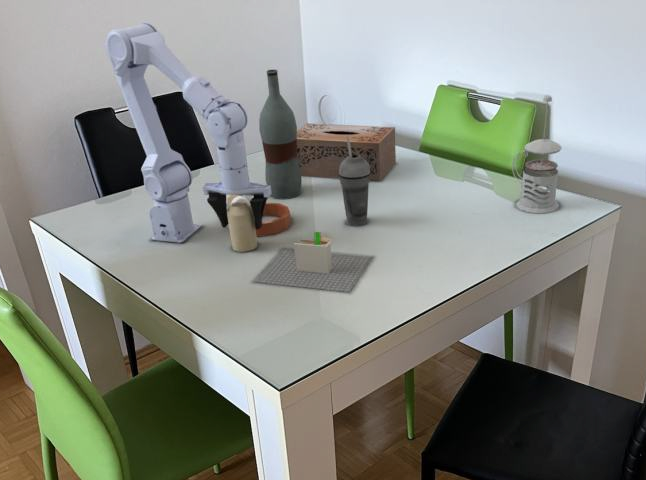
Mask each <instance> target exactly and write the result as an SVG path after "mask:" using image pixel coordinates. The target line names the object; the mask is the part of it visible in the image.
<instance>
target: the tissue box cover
mask: <svg viewBox="0 0 646 480" xmlns="http://www.w3.org/2000/svg"><path fill="white" fill-rule="evenodd" d="M346 135H348V136H349V141H350V147H351V153H352V155H360V156H362V157H363V158H364V159H365V160H366V161H367V162H368V164H369V167H370V171H371V174H370V181H369V182H381V181H382V180H383V179H384V178H385V177H386V176H387V174H388V173H389V172H390V170H391V169H393V167H394V166H395V165H396V162H397V160H396V127H394V126H374V125H356V124H355V125H354V124H353V125H352V124H331V123H309V122H307V123H305V124H304V125H303V126H301V127H299V128H298V129H297V159H298V163H299V167H300V172H301V177H314V178H328V179H340V178H339V168H340V164H341V162H342V161H343V160H344V159H345V158H346V157H347V156H349V149H348V143H347V137H346Z"/></svg>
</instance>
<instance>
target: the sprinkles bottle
mask: <svg viewBox="0 0 646 480" xmlns="http://www.w3.org/2000/svg"><path fill="white" fill-rule="evenodd" d="M232 203H246V204H248V205H250V200H248V198H247V197H245V196H244V195H226V204H227V207H228V208H229V207H230V206H231V205H232Z"/></svg>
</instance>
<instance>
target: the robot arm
mask: <svg viewBox="0 0 646 480" xmlns="http://www.w3.org/2000/svg"><path fill="white" fill-rule="evenodd" d="M104 48H105V51H106V53H107V56H108V59H109V61H110V64H111V67H112V69H113V72H114V76H115V78H116V79H115V80H116V81H117V84H118V87H119V89H120V92H121V94H122V97H123V99H124V103H125V104H126V107H127V110H128V113H129V114H130V117H131V119H132V122H133V125H134V127H135V130H136V133H137V135H138V137H139V140H140V142H141V145H142V148H143V150H144V153H145V155H146V157H145V160H144V162H143V163H142V166H141V169H140V171H141V173H142V176H143V185H144V188H145V191H146V193H147V194H148V196H150V197H151V198H152V200H153V201H154V204H153V206H152V207H151V208H150V211H149V218H150V222H151V227H152V231H153V236H152V237H151V240H152V241H159V242H160V241H161V242H170V243H179V244H181V243H184V242H185V241H186V240H187V239H189V237H191V236H192V235H193V234H194V233H195V232H197V231H198V230H199V229H201V227H202V224H199V223H194V220H193V215H192V209H191V204H190V199H189V194H188V193H189V192H190V186H191V185H192V183H193V174H192V170H191V169H190V167H189V166H188V165H187V163H186V162H185V160H184V157H183V155H182V154H181V153H179V152H177V151H176V150H174V149H172V148H171V147H170V146H171V145H170V143H169V141H168V137H167V135H166V132H165V129H164V127H163V124H162V122H161V119H160V116H159V113H158V111H157V109H156V106H155V103H154V101H153V98H152V95H151V92H150V89H149V87H148V85H147V82H146V80H145V73H146V71H147V68H148V67H149V66H154V67H155V68H156V69H158V70H159V71H160V72H161V73H162V74H163V75H165V76H166V77H167V79H170V81H172V82H173V83H174V84H175V85H176V86H178V87H179V88H180V89H181V91H182V97H183V100H184V101H185V102H187V104H188V105H190V107H191V108H193V110H195V112H197V113H198V114H199V116H201V117H202V118H203V119H204V120H205V121H206V122H205V125H206V128H207V131H208V132H209V134H210V135H211V137H212V140H213V144H214V146H216V153H217V159H218V166H219V172H220V179H221V181H220V182H206V183H204V184H203V185H202V193H203V195H204V196H208V197H207V199H206V201H207V204H208V205H209V206H210V207H211V208H212V209H213V211H214V213H215V214H216V216H217V218H218V220H219V222H220V225H221V227H222V228H224V229H225V228H227V226H229V223H228V217H227V210H228V205H227V204H226V195H242V196H248V197H249V196H251V197H252V198H250V199H249V202H250V205H251V207H252V211H253V215H254V223H255V228H256V229H260V228H261V226H262V222H263V217H264V216H263V211H264V207H265V204H266V202H267V201H268V198H270V197H271V196H270V195H271V186H270V185H267V184H261V183H257V182H251V181H250V175H249V166H248V159H247V153H246V144H245V137H244V135H245V134H244V129H245V128H246V127H247V125H248V115H247V112H246V110H245V108H244V107H243V106H242V104H241V103H240V102H239V101H235V100H230V99H229V98H226V97H225V96H223V95H222V94H221V93H220V92H219V91H218V90H217V89H216V88H215V87H214V86H213V85H212V84H211V82H210V81H209V79H208V78H204V77H203V76H194V74H192V72H191V71H190V70H189V69H188V68H187V67H186V66H185V65H184V64H183V62H182V61H181V60H180V59H179V58H178V56H177V55H176V54H175V53H174V52H173V51H172V50H171V49H170V48H169V47H168V46H167V45H166V40H165V36H164V34H163V33H161V32H160V31H159V30H158V29H157V28H156V26H155V25H153V24H152V23H151V22H141V24H136V25H133V26H128V27H125V28H120V29H113V30H110V31H109V33H108V34H107V37H106V40H105V43H104Z"/></svg>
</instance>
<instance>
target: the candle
mask: <svg viewBox="0 0 646 480" xmlns="http://www.w3.org/2000/svg"><path fill="white" fill-rule="evenodd" d="M227 217H228V223H229V224H228V228H229V229H228V230H229V237H230V241H231V248H232V249H233V251H235V252H238V253H244V252H245V253H246V252H250V251H253V250H255V249H256V248H257V247H258V239H257V238H258V236H256V230H255V223H254V215H253V211H252V207H251V206H249V205H248V204H246V203H232V205H231V206H230V207H229V206H228V208H227Z"/></svg>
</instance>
